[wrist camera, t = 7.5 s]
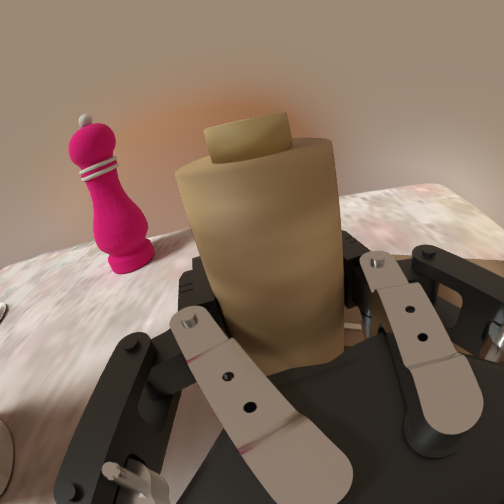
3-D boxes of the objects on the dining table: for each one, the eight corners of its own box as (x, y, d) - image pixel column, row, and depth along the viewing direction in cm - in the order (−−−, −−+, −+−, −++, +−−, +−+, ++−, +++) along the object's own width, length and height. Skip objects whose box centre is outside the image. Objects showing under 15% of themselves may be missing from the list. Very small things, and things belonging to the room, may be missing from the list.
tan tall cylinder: (241, 415, 13) (132, 151, 7) (275, 354, 16) (220, 124, 10) (326, 438, 10) (298, 112, 4) (350, 366, 14) (337, 105, 8)
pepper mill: (156, 242, 38) (114, 106, 29) (160, 263, 32) (107, 98, 23) (112, 259, 36) (65, 127, 27) (107, 283, 30) (48, 125, 21)
